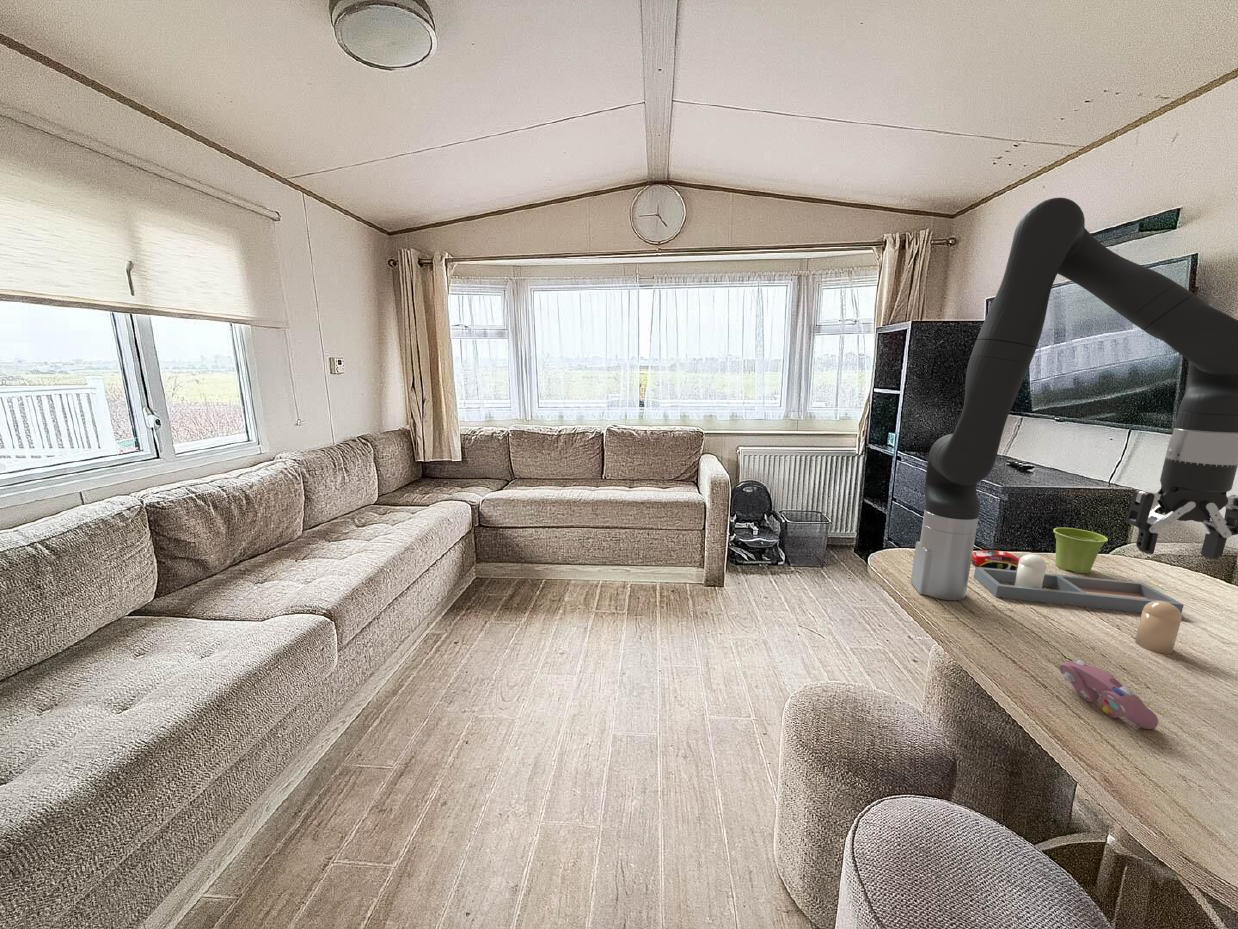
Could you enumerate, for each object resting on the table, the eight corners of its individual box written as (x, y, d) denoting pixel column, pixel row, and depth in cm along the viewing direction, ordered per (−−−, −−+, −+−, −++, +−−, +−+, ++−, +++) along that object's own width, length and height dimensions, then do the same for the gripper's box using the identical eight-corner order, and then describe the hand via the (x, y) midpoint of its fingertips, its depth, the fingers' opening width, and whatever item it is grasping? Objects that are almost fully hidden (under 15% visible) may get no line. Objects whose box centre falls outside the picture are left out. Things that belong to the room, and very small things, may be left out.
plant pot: (1111, 577, 112) (1120, 541, 110) (1070, 576, 112) (1077, 540, 110) (1074, 561, 121) (1081, 527, 119) (1036, 560, 121) (1042, 527, 119)
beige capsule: (1147, 651, 82) (1159, 606, 80) (1128, 637, 86) (1138, 594, 85) (1180, 655, 81) (1192, 610, 79) (1158, 641, 85) (1169, 598, 84)
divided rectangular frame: (995, 597, 101) (997, 585, 101) (973, 577, 111) (975, 566, 110) (1180, 616, 94) (1183, 604, 93) (1140, 593, 103) (1142, 582, 103)
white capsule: (1020, 594, 102) (1027, 557, 101) (1009, 585, 107) (1016, 550, 105) (1045, 597, 101) (1052, 560, 100) (1033, 588, 106) (1040, 552, 104)
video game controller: (1060, 694, 73) (1049, 657, 72) (1087, 681, 73) (1077, 644, 72) (1133, 744, 64) (1122, 703, 62) (1165, 729, 64) (1154, 687, 62)
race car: (1034, 570, 116) (1037, 554, 115) (1043, 579, 111) (1046, 562, 110) (968, 560, 121) (970, 545, 120) (973, 568, 116) (976, 552, 115)
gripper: (1165, 460, 75) (1142, 559, 79) (1283, 465, 72) (1254, 568, 75) (1128, 452, 82) (1108, 543, 86) (1234, 456, 79) (1209, 550, 82)
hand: (1177, 555), depth 80 cm, fingers open, 8 cm apart
